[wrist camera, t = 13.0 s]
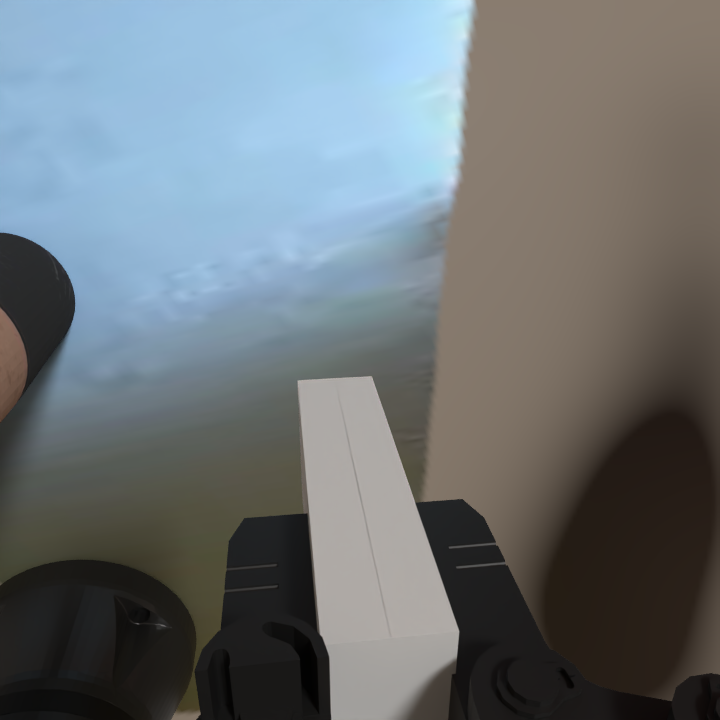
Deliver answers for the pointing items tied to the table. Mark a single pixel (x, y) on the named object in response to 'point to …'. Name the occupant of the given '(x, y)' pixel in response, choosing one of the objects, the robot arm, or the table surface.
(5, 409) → the travel mug
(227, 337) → the table surface
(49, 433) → the table surface
